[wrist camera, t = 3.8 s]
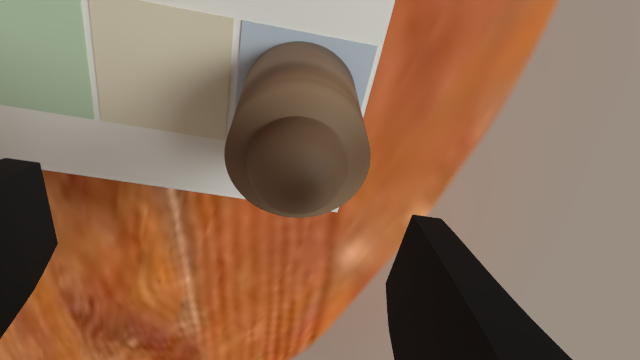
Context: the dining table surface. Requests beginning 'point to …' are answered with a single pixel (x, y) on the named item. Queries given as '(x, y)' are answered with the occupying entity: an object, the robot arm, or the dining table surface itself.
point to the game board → (156, 79)
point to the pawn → (298, 133)
